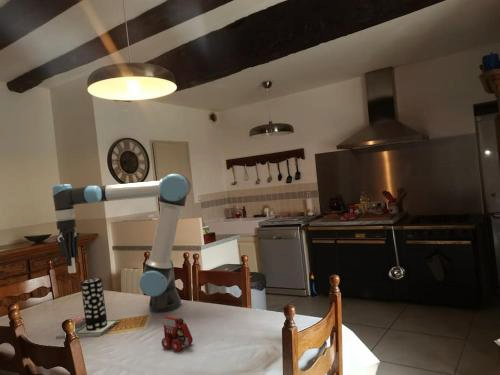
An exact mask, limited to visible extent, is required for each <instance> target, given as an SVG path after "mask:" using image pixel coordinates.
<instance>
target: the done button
mask: <svg viewBox="0 0 500 375" xmlns="http://www.w3.org/2000/svg"><path fill="white" fill-rule="evenodd" d="M83 318H84V317H80V316H79V317H75V318H74V319H73V320H74V322H75V323H80V322H81V321H83Z"/></svg>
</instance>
